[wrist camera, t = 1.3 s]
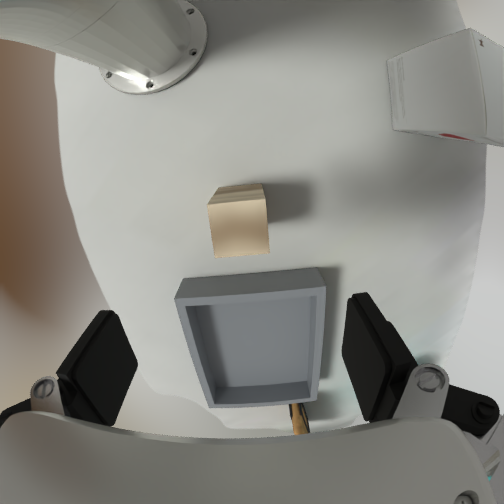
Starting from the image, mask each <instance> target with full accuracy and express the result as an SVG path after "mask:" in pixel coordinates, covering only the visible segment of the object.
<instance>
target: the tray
mask: <svg viewBox="0 0 504 504" xmlns="http://www.w3.org/2000/svg"><path fill="white" fill-rule="evenodd" d="M174 300H175V304H176V307H177V311H178V314H179V318H180V321H181V325H182V328H183V332H184V335H185V338H186V342H187V345H188V348H189V351H190V354H191V357H192V360H193V364H194V367H195V370H196V372H197V375H198V378H199V381H200V384H201V387H202V390H203V392H204V395H205V398H206V401H207V403H208V406H209V408H241V407H260V406H274V405H284V404H294V403H302V402H309V401H316V400H317V394H318V386H319V377H320V368H321V358H322V346H323V334H324V320H325V303H326V285H325V283H324V281H323V278H322V276H321V274H320V272H319V270H318V268H317V267H316V268H306V269H295V270H284V271H274V272H262V273H251V274H239V275H227V276H214V277H201V278H188V279H183V280H182V282H181V284H180V287H179V289H178V291H177V293H176V296H175V298H174Z"/></svg>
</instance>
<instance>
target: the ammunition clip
mask: <svg viewBox="0 0 504 504" xmlns="http://www.w3.org/2000/svg"><path fill="white" fill-rule="evenodd" d="M289 409H290V417H291V419H292V423H293V431H294V434H295V435H300V434H308V433H310V429H309V423H308V418H307V415H306V412H305V409H304V406H303V403H294V404H289Z"/></svg>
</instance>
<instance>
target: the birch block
mask: <svg viewBox="0 0 504 504" xmlns="http://www.w3.org/2000/svg"><path fill="white" fill-rule="evenodd" d="M207 208H208V215H209V222H210V229H211V235H212V242H213V248H214V255H215V258H222V257H234V256H245V255H256V254H267V253H270V249H269V236H268V224H267V211H266V199H265V195H264V192H263V188H262V184H251V185H240V186H231V187H221V188H218V189H217V191H216V192H215V194H214V195H213V197H212V198H211V200H210V201H209V203H208V204H207Z"/></svg>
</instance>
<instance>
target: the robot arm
mask: <svg viewBox="0 0 504 504" xmlns="http://www.w3.org/2000/svg"><path fill="white" fill-rule="evenodd" d="M191 13H193V14H191ZM190 14H191V15H190ZM207 32H208V31H207V26H206V22H205V20H204V17H203V15H202V14H201V13H200V11H199V10H198V9H197V8H196V7H195V6H194V5H192V4H191V3H189V2H187V1H185V0H0V38H1V39H7V40H12V41H17V42H22V43H26V44H30V45H33V46H36V47H40V48H43V49H47V50H50V51H53V52H56V53H60V54H63V55H66V56H69V57H72V58H75V59H77V60H80V61H83V62H86V63H89V64H91V65H94V66H97V67H99V70H100V72H101V75H102V77H103V78H104V80H105V81H106V82H107V83H108V84H109V85H110V86H111V87H113V88H115V89H117V90H118V91H121V92H124V93H128V94H134V95H143V94H150V93H155V92H158V91H161V90H163V89H166V88H168V87H170V86H172V85H173V84H175V83H177V82H178V81H180V80H181V79H182V78H184V77H185V76H186V75H187V74H188V73H189V72H190V71H191V70H192V69H193V68H194V67H195V65H196V64H197V62H198V61H199V60H200V58H201V56H202V54H203V52H204V50H205V46H206V43H207ZM193 53H197V54H196V55H194V56H192V54H193ZM152 84H154V86H153V87H152V88H151V85H152ZM342 357H343V360H344V363H345V366H346V368H347V371H348V374H349V377H350V380H351V382H352V385H353V388H354V391H355V394H356V397H357V400H358V403H359V406H360V409H361V412H362V415H363V418H364V420H365V421H369V422H370V423H367V424H362V425H357V426H352V427H347V428H341V429H335V430H329V431H323V432H315V433H308V434H300V435H291V436H280V437H267V438H245V439H244V438H241V439H215V438H192V437H178V436H168V435H158V434H151V433H143V432H136V431H130V430H125V429H119V428H114V427H111V426H113V425H114V424H115V421H116V419H117V416H118V413H119V411H120V408H121V406H122V403H123V401H124V398H125V396H126V393H127V391H128V389H129V386H130V384H131V381H132V379H133V377H134V374H135V372H136V370H137V367H138V362H137V359H136V357H135V354H134V352H133V350H132V348H131V345H130V343H129V341H128V338H127V336H126V334H125V331H124V329H123V326H122V324H121V321H120V319H119V316H118V315H117V314H115V312H114V311H112V310H101V311H99V313H98V314H97V315H96V316H95V318H94V319H93V321H92V322H91V323H90V324H89V326H88V327H87V329H86V330H85V331H84V333H83V334H82V335H81V337H80V338H79V340H78V341H77V343H76V344H75V345H74V347H73V348H72V350H71V351H70V352H69V354H68V355H67V357H66V358H65V360H64V361H63V363H62V364H61V366H60V367H59V369H58V370H57V372H56V374H57V376H58V377H59V379H58V380H56V379H55V378H54V377H51V376H46V377H43V378H41V379H39V380H37V381H36V383H34V385H33V386H32V388H31V392H30V396H31V398H29V399H27V400H25V401H23V402H20V403H18V404H16V405H14V406H11V407H9V408H7V409H6V410H4V411H2V413H1V415H0V504H504V415H503V416H501V415H500V414H499V411H500V410H499V407H498V405H497V403H496V402H495V401H494V400H493V399H492V398H490V397H488V396H485V395H482V394H478V393H475V392H472V391H468V390H465V389H462V388H459V387H456V386H453V385H450V384H449V377H448V374H447V373H446V372H445V370H444V369H442V368H441V367H440V366H437V365H435V364H429V363H428V364H422V365H419V366H418V364H417V362H416V361H415V359H414V357H413V356H412V354H411V352H410V351H409V349H408V348H407V346H406V345H405V343H404V341H403V340H402V338H401V337H400V335H399V334H398V332H397V331H396V329H395V328H394V326H393V324H392V323H391V322H389V321H386V319H385V318H384V316H383V315H382V313H381V312H380V310H379V309H378V307H377V306H376V304H375V303H374V301H373V300H372V298H371V297H370V295H369V294H368V293H367V292H364V293H356V294H353V295H352V298H349V299H348V301H347V311H346V320H345V329H344V336H343V344H342Z"/></svg>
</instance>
